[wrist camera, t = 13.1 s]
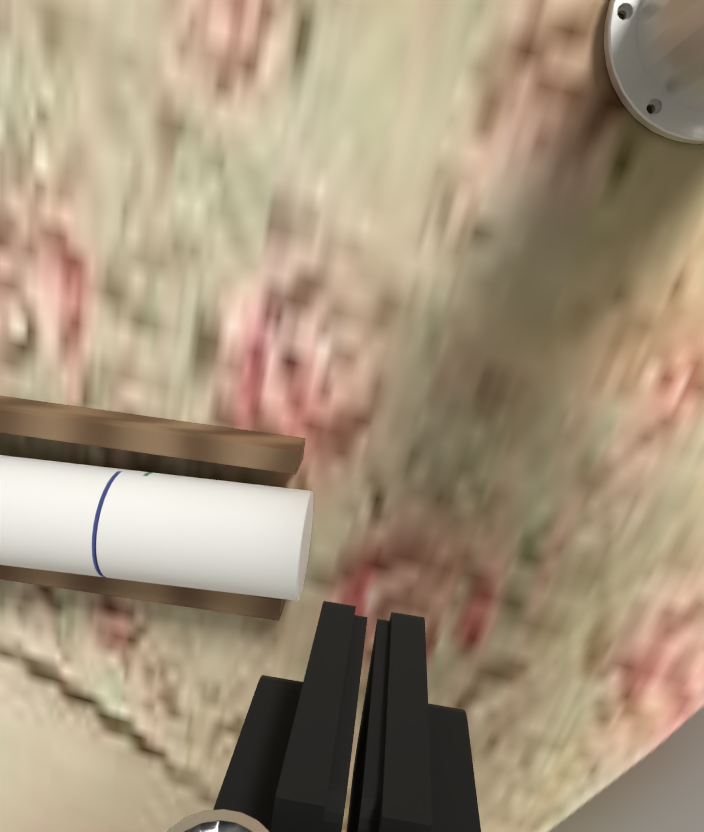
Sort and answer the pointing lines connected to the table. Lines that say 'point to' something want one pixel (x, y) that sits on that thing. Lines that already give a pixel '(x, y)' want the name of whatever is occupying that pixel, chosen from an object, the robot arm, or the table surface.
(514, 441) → the table surface
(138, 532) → the cylindrical container
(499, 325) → the table surface
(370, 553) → the table surface
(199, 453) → the U-rest
